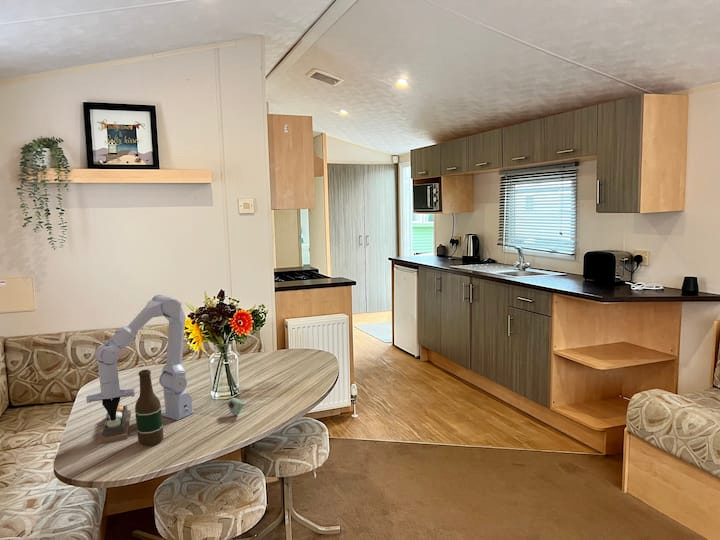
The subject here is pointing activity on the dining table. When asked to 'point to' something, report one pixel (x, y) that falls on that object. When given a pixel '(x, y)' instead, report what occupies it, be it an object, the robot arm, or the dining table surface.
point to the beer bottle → (148, 413)
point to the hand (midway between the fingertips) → (113, 419)
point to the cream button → (118, 415)
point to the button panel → (117, 428)
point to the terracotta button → (120, 408)
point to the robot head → (235, 405)
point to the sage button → (113, 423)
